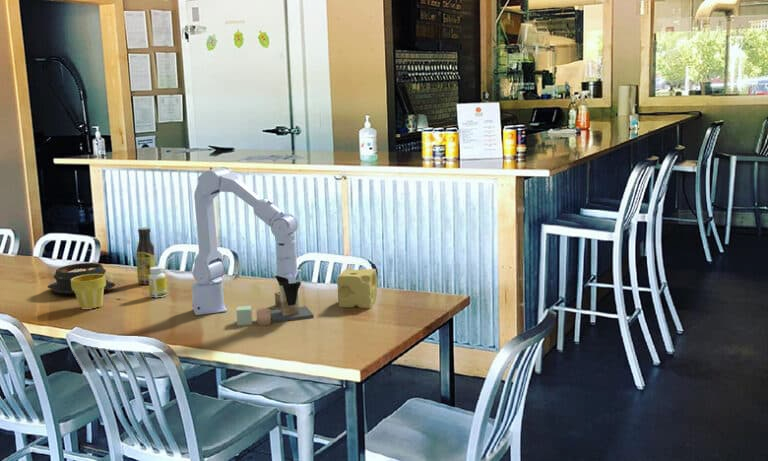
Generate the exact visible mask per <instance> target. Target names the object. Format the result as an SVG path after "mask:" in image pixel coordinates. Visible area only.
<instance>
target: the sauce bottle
mask: <svg viewBox="0 0 768 461" xmlns="http://www.w3.org/2000/svg"><path fill="white" fill-rule="evenodd" d="M137 229H138V230H137V233H138V237H139V239H138V240H139V241H138V245H137V249H136V255H135V256H136V269H137V271H136V273H137V281H138V284H139V285H143V284H144V285H149V275H150V274H151V273H150V268H151V267H156V254H155V246H154V244H153V243H152V241H151V228H150V227H146V226H145V227H140V228H137Z"/></svg>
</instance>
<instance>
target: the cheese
mask: <svg viewBox="0 0 768 461" xmlns="http://www.w3.org/2000/svg"><path fill="white" fill-rule="evenodd" d="M336 280H337V281H336V282H337V301H338V307H339V308H357V307H358V308H359V309H371V308H372V306H373V305H374V303H375V302H376V301H377V298H378V297H377V295H378V277H377V270H376V268H368V269H365V268H364V269H344V270H343V271H342V272H341V273H340V274H339V275H337V279H336Z"/></svg>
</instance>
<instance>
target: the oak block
mask: <svg viewBox="0 0 768 461" xmlns="http://www.w3.org/2000/svg"><path fill="white" fill-rule="evenodd" d="M279 292H280V300H281V308H280V309H281V312H282V314H283V315H284V316H286V315H295V314H299V307H300V306H299V291H298V292H297V298H296V304H295V305H290V306H288V304H287V300H286V295H285V291H284V289H283V287H282V286H279Z"/></svg>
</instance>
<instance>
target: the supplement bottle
mask: <svg viewBox="0 0 768 461" xmlns="http://www.w3.org/2000/svg"><path fill="white" fill-rule="evenodd" d="M163 270H164V267H163V266H161V265H160V266H158V265H157V266H155V267H151V268H150V273H151V274H150V275H149V284H148V286H149V295H150V298H151V297H162V298H164V296H165V297H167V296H168V289H167V288H168V286H167V279H166V274H165V273H164V271H163ZM166 295H167V296H166Z"/></svg>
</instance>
